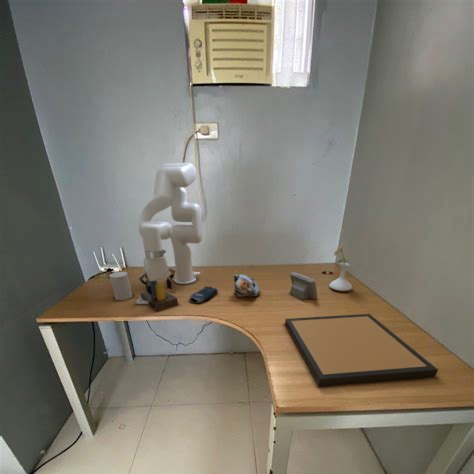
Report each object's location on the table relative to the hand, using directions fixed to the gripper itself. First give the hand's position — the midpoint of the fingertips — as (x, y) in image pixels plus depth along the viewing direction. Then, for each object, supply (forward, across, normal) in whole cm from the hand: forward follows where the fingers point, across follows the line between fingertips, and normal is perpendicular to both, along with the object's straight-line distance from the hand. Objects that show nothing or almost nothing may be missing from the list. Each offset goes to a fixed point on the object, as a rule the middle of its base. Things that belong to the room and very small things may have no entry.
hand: (159, 291), depth 118 cm
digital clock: (+7, -60, +37) cm, 70 cm away
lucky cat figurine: (+7, -38, +18) cm, 43 cm away
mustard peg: (+7, 0, 0) cm, 7 cm away
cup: (+7, +10, -22) cm, 26 cm away
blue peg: (+7, 0, -8) cm, 11 cm away
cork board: (+8, -34, +76) cm, 83 cm away
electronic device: (+7, -20, +6) cm, 22 cm away
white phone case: (+5, +1, -11) cm, 12 cm away
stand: (+7, 0, -4) cm, 8 cm away
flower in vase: (+7, -80, +45) cm, 92 cm away
